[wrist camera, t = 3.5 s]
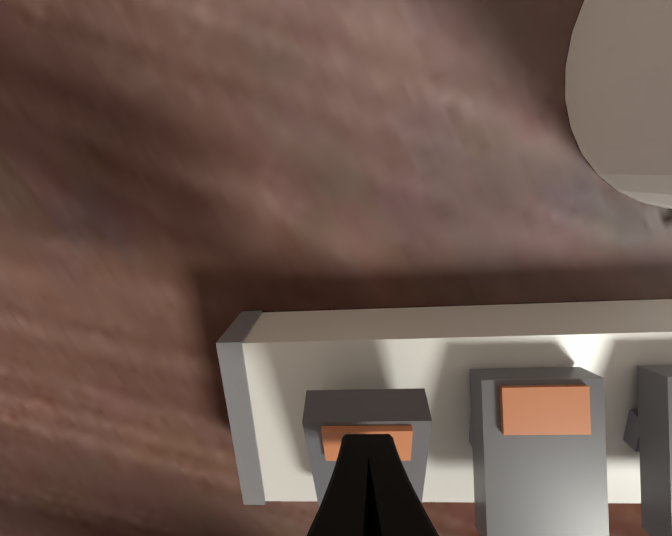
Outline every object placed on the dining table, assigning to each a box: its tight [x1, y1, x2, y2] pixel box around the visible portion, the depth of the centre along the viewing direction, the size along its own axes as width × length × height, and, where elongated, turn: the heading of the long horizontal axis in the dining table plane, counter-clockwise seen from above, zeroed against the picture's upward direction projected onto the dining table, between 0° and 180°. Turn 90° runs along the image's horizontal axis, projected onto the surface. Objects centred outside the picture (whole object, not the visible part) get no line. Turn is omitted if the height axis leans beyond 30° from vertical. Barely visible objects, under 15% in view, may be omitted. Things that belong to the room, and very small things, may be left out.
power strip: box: [216, 299, 672, 505], centre depth 14 cm, size 8×29×4 cm, turn 93°
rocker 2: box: [470, 367, 609, 536], centre depth 12 cm, size 6×4×1 cm, turn 4°
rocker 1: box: [302, 388, 432, 507], centre depth 12 cm, size 6×4×1 cm, turn 3°
